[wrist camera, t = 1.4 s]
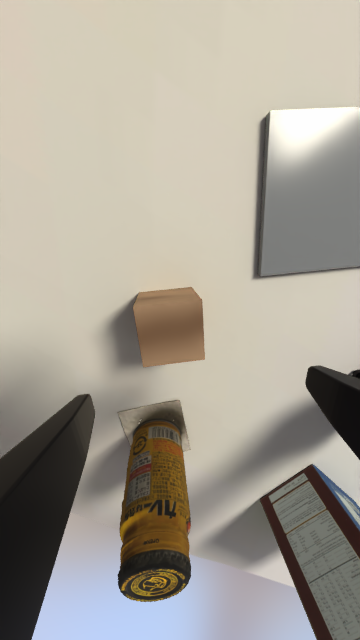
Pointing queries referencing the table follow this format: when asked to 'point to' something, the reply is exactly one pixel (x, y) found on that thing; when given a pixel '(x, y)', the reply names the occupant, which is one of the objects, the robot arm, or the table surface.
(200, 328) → the walnut cube
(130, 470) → the condiment
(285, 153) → the slate pad
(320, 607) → the protein box
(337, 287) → the table surface
